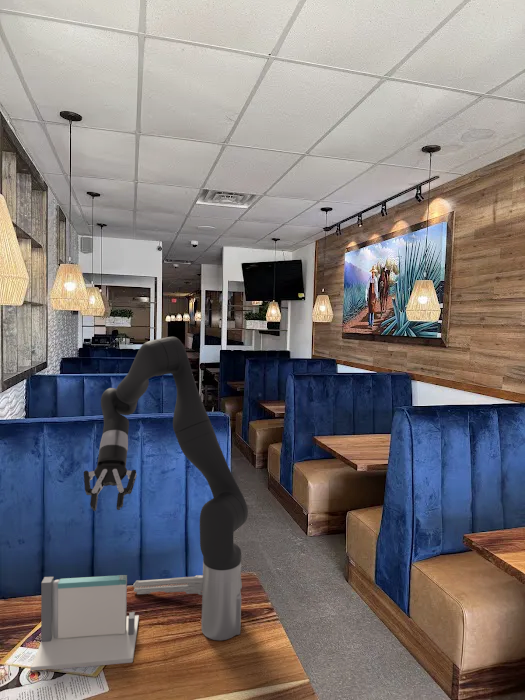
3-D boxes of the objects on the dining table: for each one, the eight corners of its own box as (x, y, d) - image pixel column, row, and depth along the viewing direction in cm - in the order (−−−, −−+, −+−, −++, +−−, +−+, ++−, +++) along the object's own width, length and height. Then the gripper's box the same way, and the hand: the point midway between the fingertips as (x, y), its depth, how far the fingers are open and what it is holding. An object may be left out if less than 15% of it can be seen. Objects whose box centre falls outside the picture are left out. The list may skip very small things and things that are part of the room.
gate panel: (126, 627, 112) (126, 574, 112) (125, 633, 110) (126, 579, 110) (54, 633, 110) (54, 579, 109) (52, 639, 108) (52, 583, 107)
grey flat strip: (242, 603, 124) (238, 575, 123) (135, 609, 128) (131, 582, 128) (244, 599, 126) (240, 571, 125) (138, 605, 130) (134, 578, 130)
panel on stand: (138, 619, 118) (139, 561, 117) (132, 662, 103) (133, 596, 102) (50, 625, 114) (50, 566, 113) (30, 671, 100) (30, 603, 99)
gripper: (84, 443, 127) (74, 504, 117) (139, 443, 130) (134, 502, 119) (88, 457, 133) (79, 516, 122) (140, 456, 136) (135, 513, 125)
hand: (106, 508), depth 121 cm, fingers open, 5 cm apart
